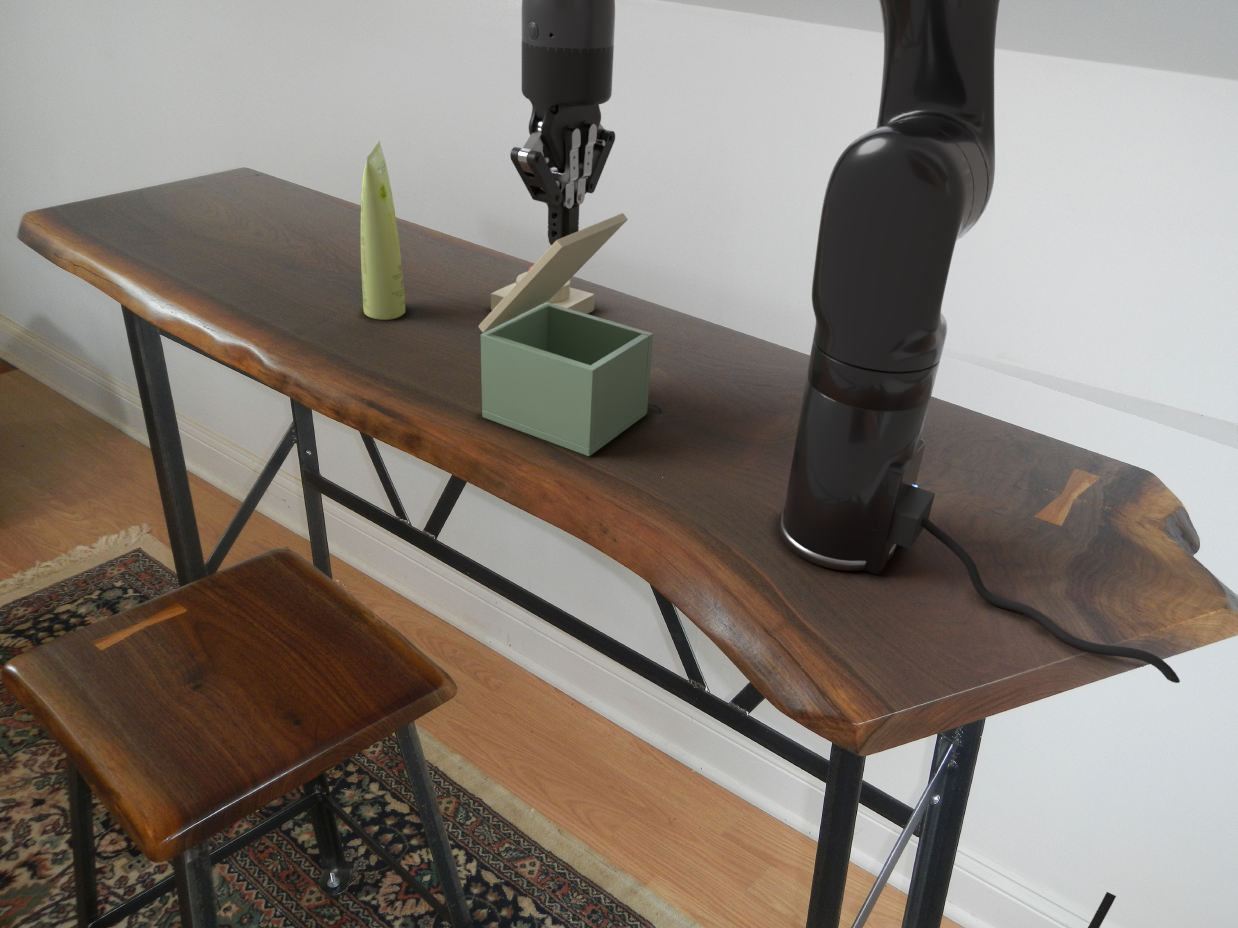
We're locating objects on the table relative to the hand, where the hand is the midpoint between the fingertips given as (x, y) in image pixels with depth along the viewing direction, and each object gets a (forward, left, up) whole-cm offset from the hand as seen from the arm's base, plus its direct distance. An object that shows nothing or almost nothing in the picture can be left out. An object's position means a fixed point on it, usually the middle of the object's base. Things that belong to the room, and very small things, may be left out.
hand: (563, 245), depth 86 cm
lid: (+1, 0, -3) cm, 3 cm away
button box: (+17, -21, -17) cm, 32 cm away
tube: (+31, -8, -17) cm, 37 cm away
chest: (-1, 0, -17) cm, 17 cm away
